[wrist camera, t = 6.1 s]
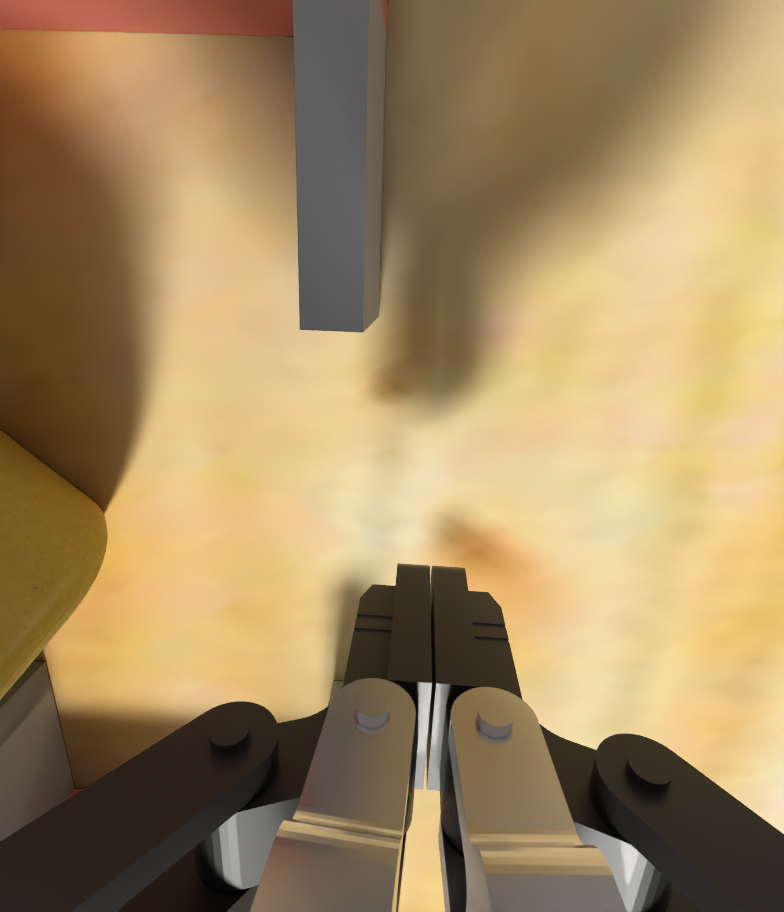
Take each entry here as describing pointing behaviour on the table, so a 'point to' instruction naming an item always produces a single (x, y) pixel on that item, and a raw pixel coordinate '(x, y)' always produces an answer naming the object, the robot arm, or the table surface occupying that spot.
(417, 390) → the table surface
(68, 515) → the flower pot
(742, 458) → the table surface
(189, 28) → the box
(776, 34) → the table surface
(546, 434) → the table surface
